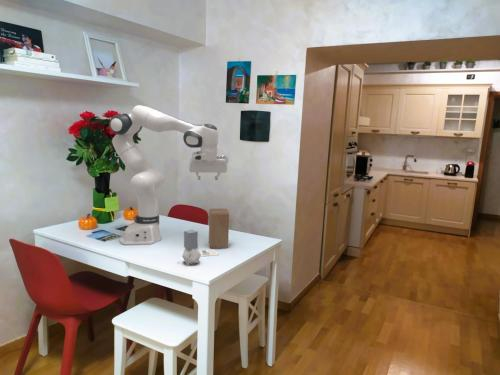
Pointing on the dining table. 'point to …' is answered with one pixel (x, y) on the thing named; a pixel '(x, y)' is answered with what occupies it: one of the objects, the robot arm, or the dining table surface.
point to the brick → (190, 239)
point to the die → (191, 256)
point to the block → (218, 228)
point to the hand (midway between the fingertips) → (207, 179)
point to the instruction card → (208, 253)
